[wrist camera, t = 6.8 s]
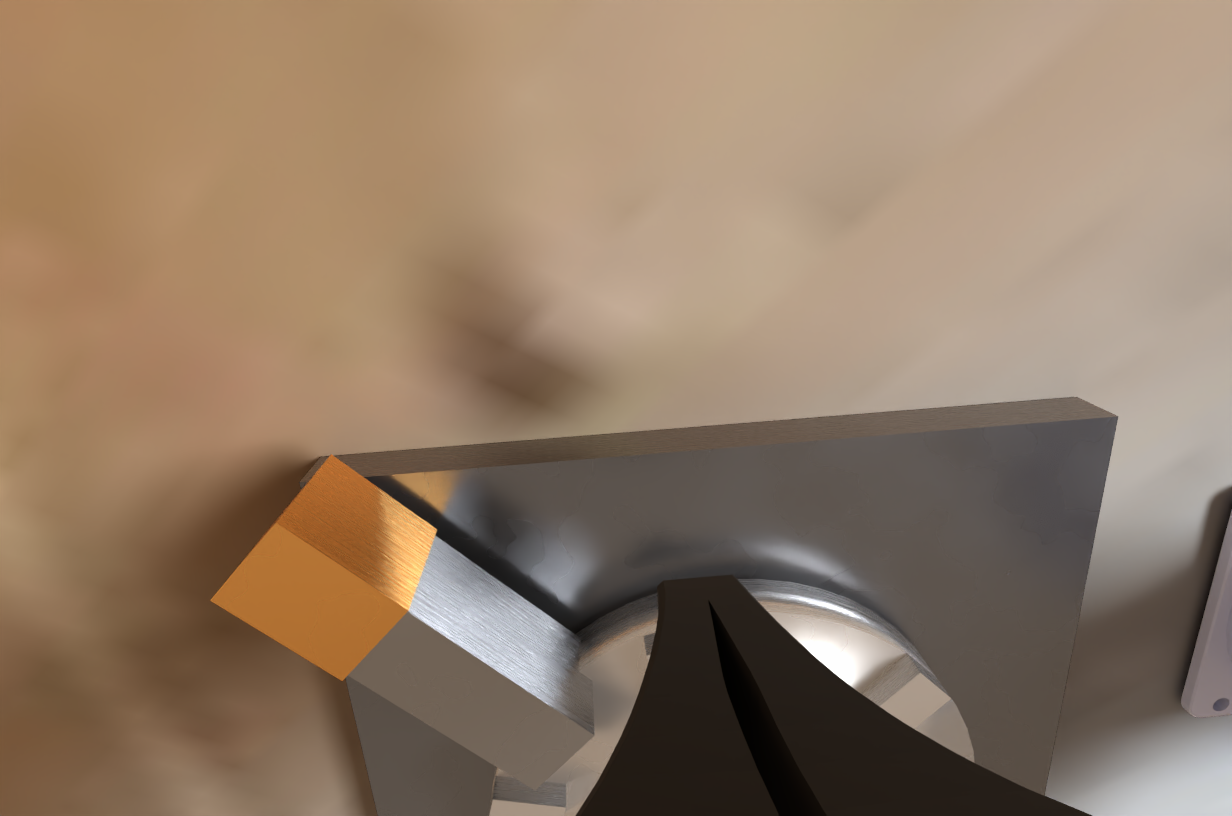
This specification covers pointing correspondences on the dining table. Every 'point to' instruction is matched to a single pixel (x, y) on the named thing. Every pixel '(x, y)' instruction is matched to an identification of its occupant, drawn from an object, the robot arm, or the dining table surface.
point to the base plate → (781, 550)
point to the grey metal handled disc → (515, 642)
